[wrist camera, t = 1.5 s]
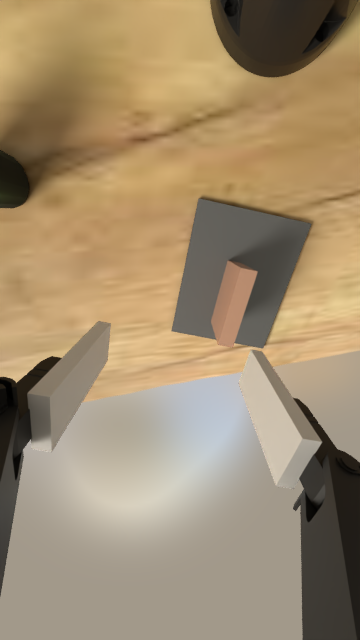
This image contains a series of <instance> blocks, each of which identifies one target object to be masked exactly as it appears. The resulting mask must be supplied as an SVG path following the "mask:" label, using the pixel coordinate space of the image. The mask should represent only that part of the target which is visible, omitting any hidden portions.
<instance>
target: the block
mask: <svg viewBox="0 0 360 640" xmlns="http://www.w3.org/2000/svg"><path fill="white" fill-rule="evenodd" d="M257 273H258V271H256V270H254V269H252V268H250V267H248V266H246V265H244V264H242V263H239V262H234V261H229V260H228V261H227V265H226V268H225V272H224V276H223V279H222V283H221V287H220V290H219V294H218V297H217V301H216V305H215V308H214V312H213V316H212V319H211V324H212V327H213V330H214V333H215V337H216V340H217V343H218V345H222V346H227V347H233V346H234V342H235V340H236V337H237V334H238V331H239V328H240V325H241V322H242V318H243V315H244V312H245V309H246V306H247V303H248V300H249V297H250V294H251V291H252V288H253V285H254V282H255V279H256V276H257Z"/></svg>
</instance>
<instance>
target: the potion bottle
mask: <svg viewBox="0 0 360 640" xmlns="http://www.w3.org/2000/svg"><path fill="white" fill-rule="evenodd" d="M28 191H29V185H28V178H27V176H26V174H25V172H24V170H23V168H22V166H21V165H20V164H19V163H18V162H17V161H16V160H15V159H14V158H13V157H12V156H10V155H8V154H7V153H5V152H3V151H1V150H0V208H15V207H18V206H20V205H22V204H23V203H24V201H25V200H26V199H27V196H28Z"/></svg>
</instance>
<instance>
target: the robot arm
mask: <svg viewBox="0 0 360 640" xmlns="http://www.w3.org/2000/svg"><path fill="white" fill-rule="evenodd" d="M210 2H211V9H212V15H213V19H214V23H215V26H216V29H217V32H218V35H219V37H220V39H221V41H222V43H223V45H224V47H225V49H226V50H227V52H228V53H229V54H230V56H231V57H232V58H233V59H234V60H235V61H236V62H237V63H238V64H239V65H240V66H241V67H243V68H244V69H246V70H247V71H249V72H251V73H253V74H256V75H259V76H264V77H280V76H285V75H288V74H291V73H294V72H296V71H298V70H300V69H301V68H303V67H305V66H306V65H308V64H309V63H310V62H312V61H313V60H314V59H315V58H316V57H317V56H318V55H319V54H320V53H321V52H322V51H323V50H324V49H325V48H326V47H327V46H328V44H329V43H330V42H331V40H332V39H333V38H334V37H335V35H336V34H337V33H338V31H339V30H340V29H341V27H342V26H343V25H344V23H345V22H346V20H347V19H348V17H349V16H350V14H351V12H352V11H353V9H354V7H355V5H356V3H357V2H358V0H210ZM110 326H111V323H106V322H101V321H98V322H97V323H96V324H95V325H94V326H93V327H92V328H91V329H90V330H89V331H88V332H87V333H86V334H85V335H84V336H83V337H82V338H81V339H80V340H79V341H78V342H77V343H76V344H75V345H74V346H73V347H72V348H71V349H70V350H69V351H68V352H67V354H66V355H65V356H64V357H63V358H58V357H53V356H51V357H49V358H47V359H45V360H43V361H41V362H40V363H39V364H37V365H36V366H35V367H34V368H33V369H32V370H31V371H30V372H28V373H27V375H25V376H24V377H23V378H22V379H21V380H19V381H18V382H17V383H16V382H15V381H14V380H13V379H11V378H7V377H0V595H1V589H2V583H3V577H4V571H5V565H6V558H7V553H8V547H9V541H10V535H11V529H12V523H13V516H14V511H15V505H16V498H17V493H18V487H19V480H20V475H21V469H22V462H23V457H24V456H23V449H24V447H25V446H26V445H27V443H28V442H29V441H30V439H31V446H32V449H34V450H41V451H48V452H52V451H53V449H54V447H55V446H56V444H57V443H58V441H59V439H60V437H61V436H62V434H63V433H64V431H65V429H66V427H67V426H68V424H69V423H70V421H71V420H72V418H73V416H74V415H75V413H76V411H77V410H78V408H79V406H80V405H81V403H82V401H83V400H84V398H85V397H86V395H87V393H88V392H89V390H90V388H91V387H92V385H93V383H94V382H95V380H96V378H97V377H98V375H99V373H100V372H101V370H102V369H103V367H104V365H105V364H106V362H107V360H108V349H109V338H110ZM239 386H240V389H241V392H242V394H243V397H244V400H245V403H246V405H247V408H248V410H249V413H250V416H251V419H252V422H253V425H254V427H255V430H256V433H257V435H258V438H259V441H260V444H261V446H262V449H263V452H264V455H265V458H266V460H267V463H268V466H269V469H270V471H271V474H272V477H273V479H274V482H275V485H276V486H279V487H285V488H292V489H294V487H295V486H296V484H297V482H298V481H299V479H300V481H301V483H302V485H303V487H304V490H303V492H302V493H301V495H300V496H299V498H298V499H297V501H296V503H295V504H294V507H293V509H294V510H295V511H296V510H297V509H298V507H299V506H300V505H301V513H300V514H301V560H302V561H301V562H302V623H303V624H302V625H303V640H360V463H359V462H358V461H357V460H356V459H354V458H353V457H352V456H351V455H349V454H347V453H346V452H343V451H340V450H338V449H337V448H336V447H335V445H334V444H333V442H332V441H331V440H330V438H329V437H328V435H327V434H326V433H325V431H324V430H323V428H322V427H321V426H320V425H319V424H318V421H317V420H316V419H315V417H313V414H312V413H311V412H310V410H309V409H308V407H307V406H306V405H304V404H303V403H302V402H301V401H300V400H299V399H295V398H293V397H292V396H291V394H290V393H289V391H288V390H287V388H286V387H285V385H284V384H283V382H282V381H281V379H280V378H279V376H278V375H277V373H276V372H275V370H274V369H273V367H272V366H271V364H270V363H269V361H268V360H267V358H266V357H265V355H264V354H263V352H262V351H256V350H251V351H250V353H249V356H248V359H247V362H246V364H245V367H244V370H243V373H242V375H241V378H240V381H239Z"/></svg>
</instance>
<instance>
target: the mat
mask: <svg viewBox="0 0 360 640" xmlns="http://www.w3.org/2000/svg"><path fill="white" fill-rule="evenodd" d="M310 227H311V224H310V223H306V222H301V221H297V220H293V219H288V218H284V217H279V216H275V215H270V214H266V213H262V212H257V211H253V210H248V209H244V208H239V207H235V206H230V205H226V204H222V203H217V202H213V201H208V200H204V199H198V204H197V209H196V214H195V219H194V224H193V229H192V234H191V239H190V243H189V248H188V253H187V258H186V263H185V268H184V273H183V278H182V283H181V288H180V292H179V297H178V302H177V307H176V312H175V317H174V322H173V327H172V331H173V332H179V333H184V334H189V335H195V336H200V337H205V338H211V339H216V337H215V333H214V330H213V327H212V324H211V319H212V316H213V312H214V308H215V305H216V301H217V297H218V294H219V290H220V287H221V283H222V279H223V276H224V272H225V268H226V265H227V261H228V260H229V261H234V262H239V263H242V264H244V265H246V266H248V267H250V268H252V269H254V270H256V271H258V273H257V276H256V279H255V282H254V285H253V288H252V291H251V294H250V297H249V300H248V303H247V306H246V309H245V312H244V315H243V318H242V322H241V325H240V328H239V331H238V334H237V337H236V340H235V342H234V343H237V344H242V345H248V346H253V347H258V348H263V347H264V345H265V342H266V340H267V337H268V335H269V332H270V329H271V327H272V324H273V322H274V319H275V317H276V314H277V311H278V309H279V306H280V304H281V301H282V299H283V296H284V293H285V291H286V288H287V286H288V283H289V281H290V278H291V275H292V273H293V270H294V268H295V265H296V263H297V260H298V257H299V255H300V252H301V250H302V247H303V245H304V242H305V239H306V237H307V234H308V232H309V229H310Z"/></svg>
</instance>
